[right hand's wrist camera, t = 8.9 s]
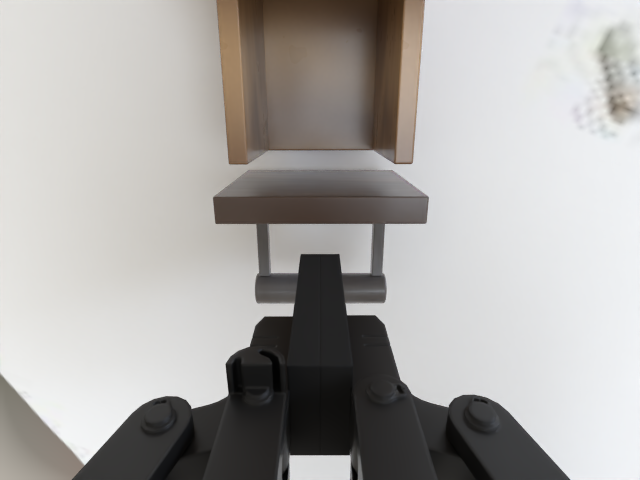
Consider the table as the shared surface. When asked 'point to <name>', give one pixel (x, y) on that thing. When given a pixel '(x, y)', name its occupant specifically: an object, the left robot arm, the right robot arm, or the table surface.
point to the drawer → (320, 121)
